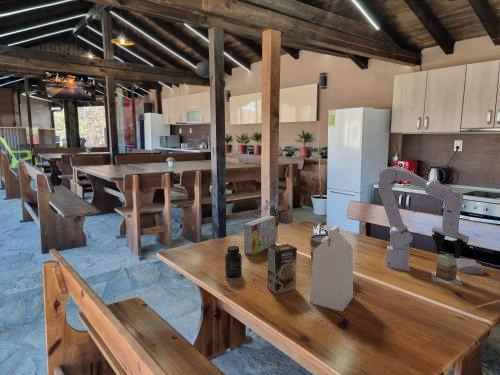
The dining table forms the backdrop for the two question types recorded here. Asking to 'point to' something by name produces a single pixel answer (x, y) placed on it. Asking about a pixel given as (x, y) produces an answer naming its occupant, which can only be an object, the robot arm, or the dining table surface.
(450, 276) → the tower base
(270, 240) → the snack box
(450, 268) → the tower top
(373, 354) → the dining table surface
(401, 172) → the robot arm
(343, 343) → the dining table surface
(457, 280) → the felt mat
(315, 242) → the reusable coffee cup
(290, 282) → the coffee box
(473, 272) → the stone block
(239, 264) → the supplement bottle
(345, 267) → the milk
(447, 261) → the pale green cube
